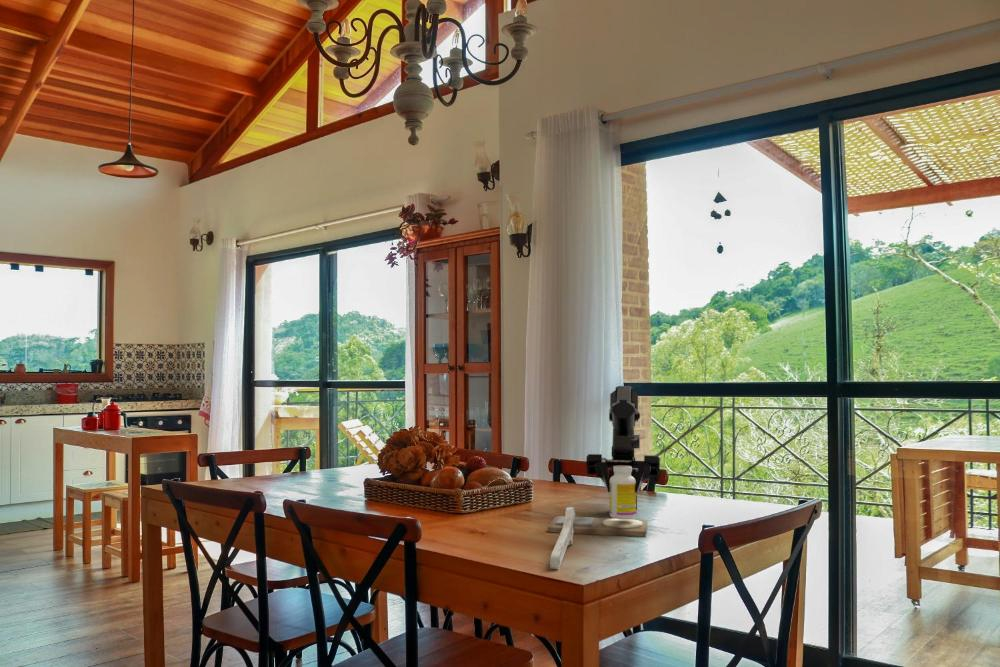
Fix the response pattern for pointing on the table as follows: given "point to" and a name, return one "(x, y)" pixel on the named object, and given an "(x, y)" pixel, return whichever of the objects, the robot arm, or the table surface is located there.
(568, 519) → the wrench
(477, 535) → the table surface
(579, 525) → the coaster board
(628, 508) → the supplement bottle
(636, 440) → the robot arm
